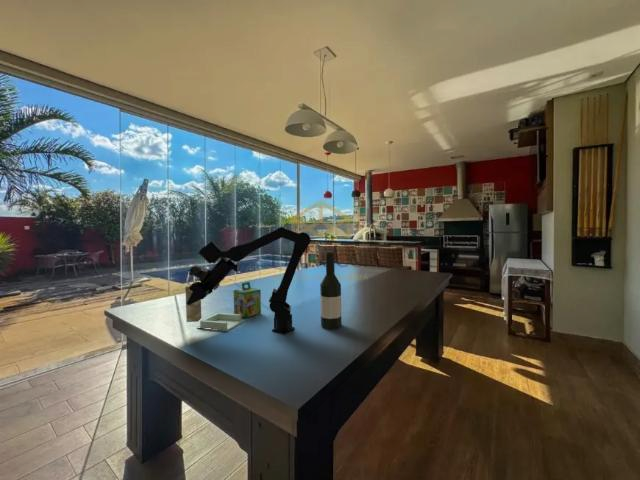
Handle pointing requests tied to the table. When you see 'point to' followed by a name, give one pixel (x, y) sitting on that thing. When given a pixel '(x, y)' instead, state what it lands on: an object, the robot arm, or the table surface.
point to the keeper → (221, 321)
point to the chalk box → (247, 301)
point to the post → (192, 308)
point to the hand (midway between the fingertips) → (189, 302)
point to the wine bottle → (330, 296)
